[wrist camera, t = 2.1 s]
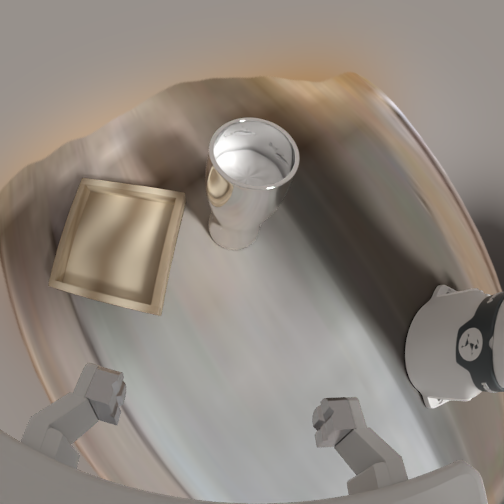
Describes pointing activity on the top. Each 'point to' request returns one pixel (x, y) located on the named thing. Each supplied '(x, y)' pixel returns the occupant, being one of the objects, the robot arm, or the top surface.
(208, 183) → the beer glass
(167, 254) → the oak tray
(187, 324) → the top surface
